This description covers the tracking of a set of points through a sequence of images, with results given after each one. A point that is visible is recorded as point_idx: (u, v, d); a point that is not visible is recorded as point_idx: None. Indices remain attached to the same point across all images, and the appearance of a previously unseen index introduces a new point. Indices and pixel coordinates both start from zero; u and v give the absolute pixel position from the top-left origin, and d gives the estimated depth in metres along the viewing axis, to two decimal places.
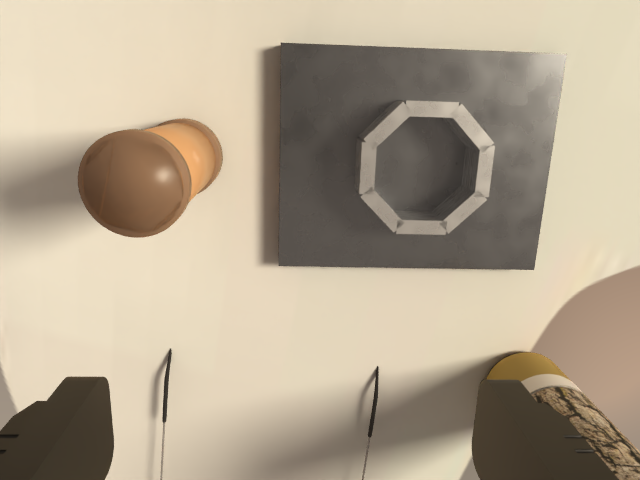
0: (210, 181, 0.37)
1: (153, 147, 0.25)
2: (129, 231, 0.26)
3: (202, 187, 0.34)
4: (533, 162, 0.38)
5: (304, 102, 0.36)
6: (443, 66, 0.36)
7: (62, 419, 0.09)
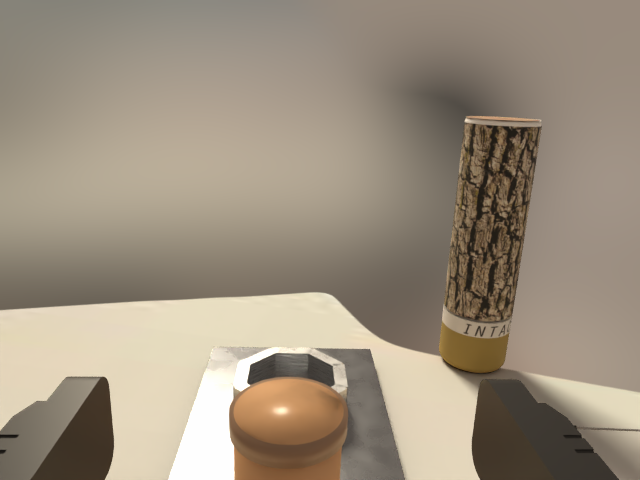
0: None
1: (249, 394, 0.24)
2: (341, 413, 0.23)
3: None
4: None
5: (227, 477, 0.35)
6: (210, 395, 0.44)
7: (62, 419, 0.09)
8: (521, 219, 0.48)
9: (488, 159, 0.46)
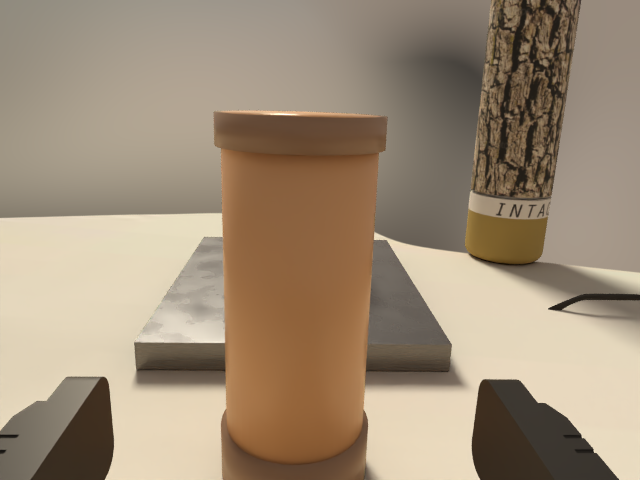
0: None
1: None
2: (378, 116, 0.16)
3: None
4: None
5: (218, 328, 0.27)
6: (199, 269, 0.37)
7: (62, 419, 0.09)
8: (564, 71, 0.41)
9: None
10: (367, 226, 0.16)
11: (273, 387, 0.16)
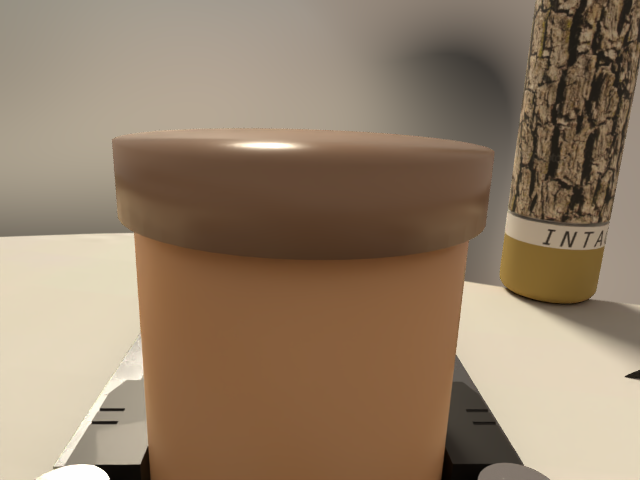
0: None
1: (190, 131, 0.09)
2: (469, 147, 0.08)
3: None
4: None
5: None
6: None
7: None
8: (634, 65, 0.32)
9: None
10: (446, 382, 0.07)
11: None
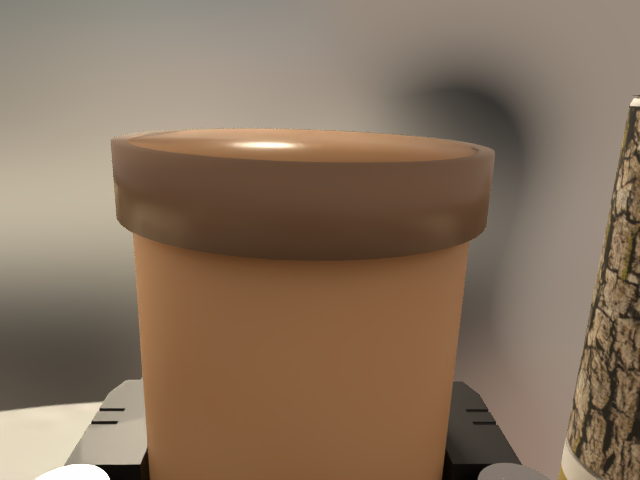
0: None
1: (189, 131, 0.09)
2: (470, 147, 0.07)
3: None
4: None
5: None
6: None
7: None
8: None
9: None
10: (447, 383, 0.07)
11: None
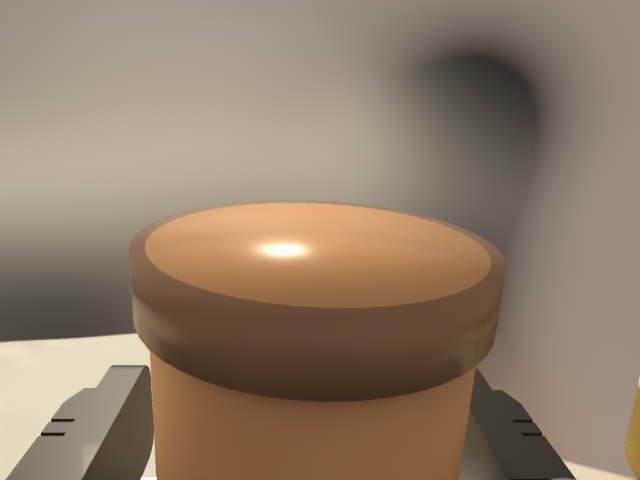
0: None
1: (203, 216, 0.09)
2: (481, 251, 0.08)
3: None
4: None
5: None
6: None
7: (114, 404, 0.09)
8: None
9: None
10: None
11: None
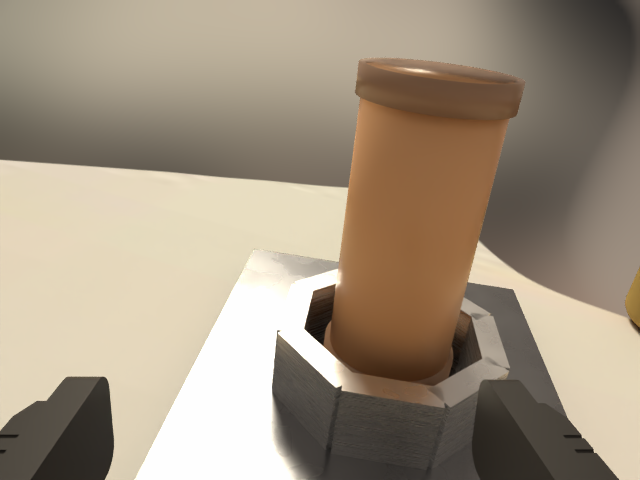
0: None
1: (383, 59, 0.18)
2: (516, 80, 0.17)
3: None
4: None
5: None
6: (235, 334, 0.24)
7: (62, 419, 0.09)
8: None
9: None
10: (487, 184, 0.17)
11: (380, 314, 0.18)
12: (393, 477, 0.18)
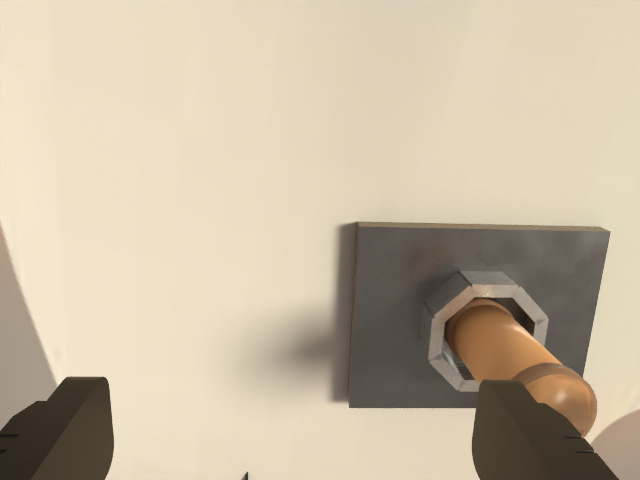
0: None
1: (576, 384, 0.29)
2: None
3: None
4: (578, 319, 0.43)
5: (378, 274, 0.41)
6: (501, 243, 0.41)
7: (62, 419, 0.09)
8: None
9: None
10: None
11: (466, 339, 0.37)
12: (413, 328, 0.42)
